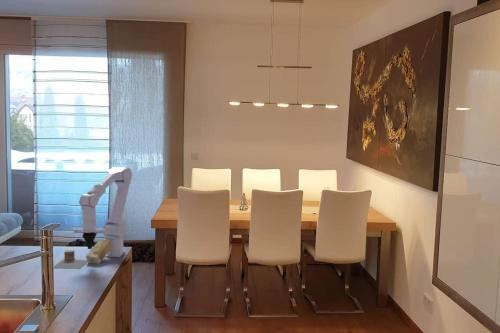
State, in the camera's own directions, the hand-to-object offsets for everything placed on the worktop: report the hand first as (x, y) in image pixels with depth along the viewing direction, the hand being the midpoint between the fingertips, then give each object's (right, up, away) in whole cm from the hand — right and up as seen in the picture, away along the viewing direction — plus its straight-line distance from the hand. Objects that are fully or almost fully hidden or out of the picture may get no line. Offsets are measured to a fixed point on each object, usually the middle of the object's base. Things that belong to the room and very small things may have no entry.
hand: (90, 248), depth 222 cm
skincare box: (+1, -6, +2) cm, 6 cm away
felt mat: (-9, -8, +1) cm, 12 cm away
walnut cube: (-13, -7, +8) cm, 16 cm away
